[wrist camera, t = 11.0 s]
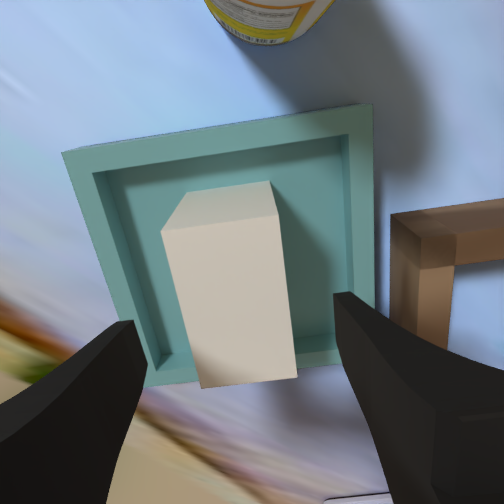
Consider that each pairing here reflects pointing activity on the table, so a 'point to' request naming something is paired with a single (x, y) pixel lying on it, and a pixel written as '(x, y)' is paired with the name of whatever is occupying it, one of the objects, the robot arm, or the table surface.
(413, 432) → the robot arm
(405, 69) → the table surface
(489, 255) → the bay
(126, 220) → the tray
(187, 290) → the cream rectangular block
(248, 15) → the supplement bottle
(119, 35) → the table surface
